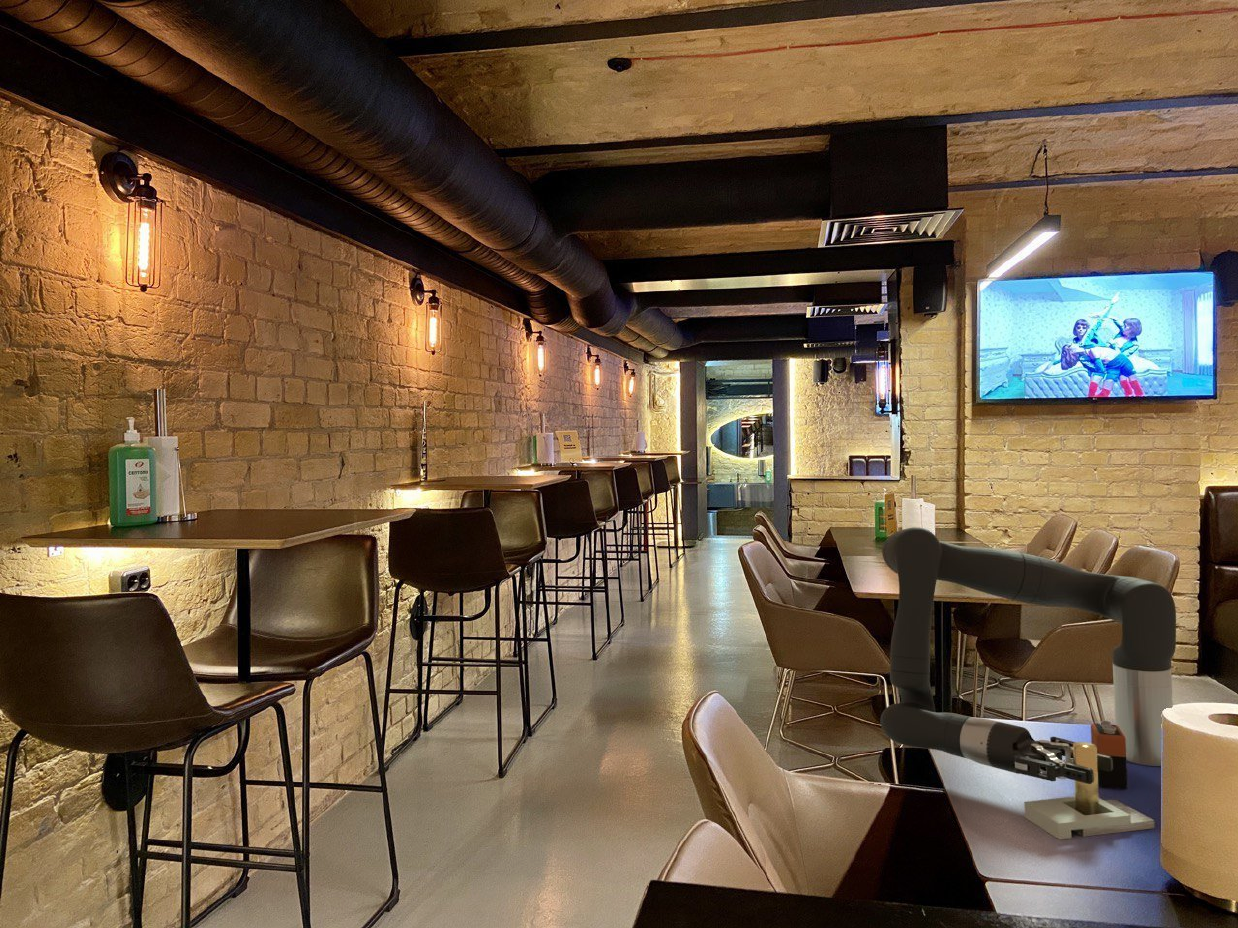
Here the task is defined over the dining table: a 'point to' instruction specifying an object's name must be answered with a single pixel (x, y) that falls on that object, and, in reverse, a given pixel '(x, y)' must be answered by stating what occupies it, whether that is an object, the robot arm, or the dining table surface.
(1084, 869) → the dining table surface
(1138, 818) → the chain end lower
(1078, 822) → the plate with square hole
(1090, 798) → the pin
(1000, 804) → the dining table surface
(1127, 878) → the dining table surface
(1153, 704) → the robot arm
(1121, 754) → the battery
